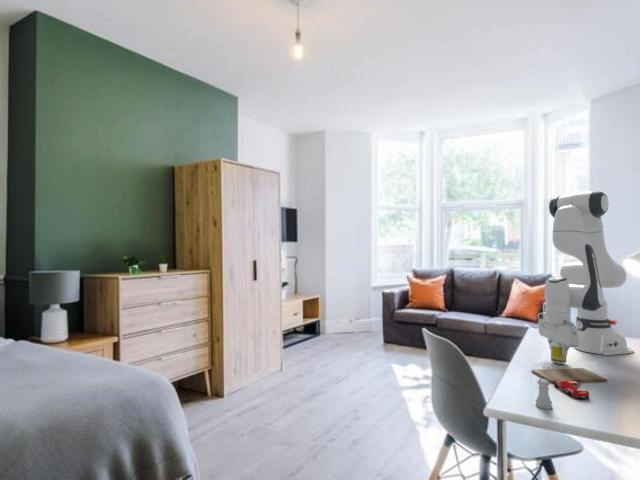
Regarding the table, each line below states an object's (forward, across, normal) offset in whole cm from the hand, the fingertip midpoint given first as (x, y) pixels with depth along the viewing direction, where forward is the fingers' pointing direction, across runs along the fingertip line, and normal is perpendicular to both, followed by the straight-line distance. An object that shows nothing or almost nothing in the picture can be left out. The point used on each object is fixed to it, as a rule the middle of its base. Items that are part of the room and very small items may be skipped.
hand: (558, 352), depth 161 cm
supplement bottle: (+4, 0, 0) cm, 4 cm away
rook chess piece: (+4, -39, +31) cm, 50 cm away
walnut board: (+4, -15, +7) cm, 17 cm away
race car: (+4, -29, +15) cm, 33 cm away
